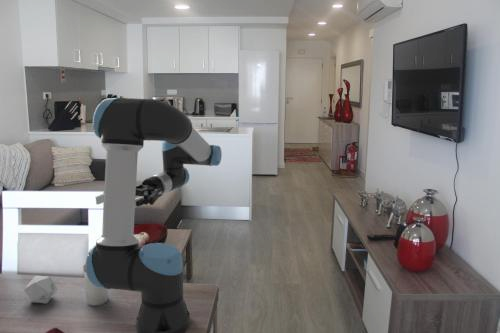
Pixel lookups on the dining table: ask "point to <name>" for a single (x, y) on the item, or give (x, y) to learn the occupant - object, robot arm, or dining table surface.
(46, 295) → the die
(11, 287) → the dining table surface
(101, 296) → the jar
